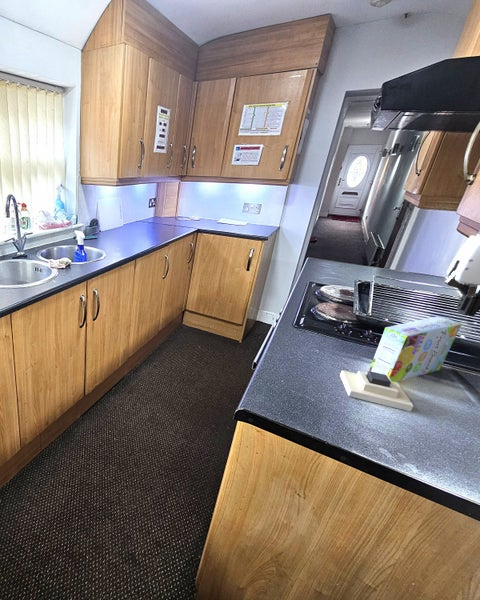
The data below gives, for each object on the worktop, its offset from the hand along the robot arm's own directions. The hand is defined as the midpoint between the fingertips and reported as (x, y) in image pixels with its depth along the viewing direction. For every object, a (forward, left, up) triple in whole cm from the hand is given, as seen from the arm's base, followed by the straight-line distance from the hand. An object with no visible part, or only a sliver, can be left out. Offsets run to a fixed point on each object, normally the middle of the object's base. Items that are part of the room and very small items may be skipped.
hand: (465, 313), depth 74 cm
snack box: (+1, -11, -23) cm, 25 cm away
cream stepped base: (+11, +4, -23) cm, 26 cm away
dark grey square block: (+11, +4, -20) cm, 23 cm away
